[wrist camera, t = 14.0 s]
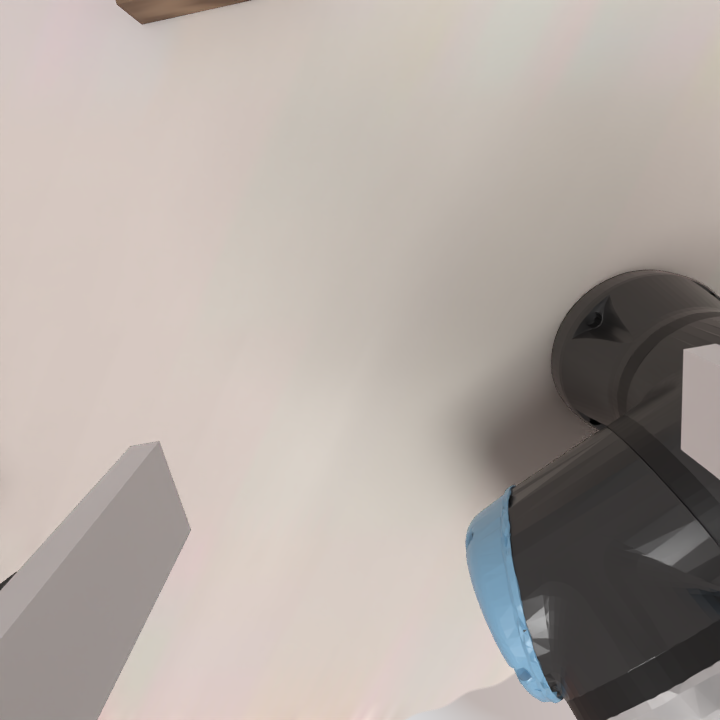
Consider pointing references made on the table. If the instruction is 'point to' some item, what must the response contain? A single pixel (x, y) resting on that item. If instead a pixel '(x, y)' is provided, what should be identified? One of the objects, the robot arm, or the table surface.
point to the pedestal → (168, 8)
